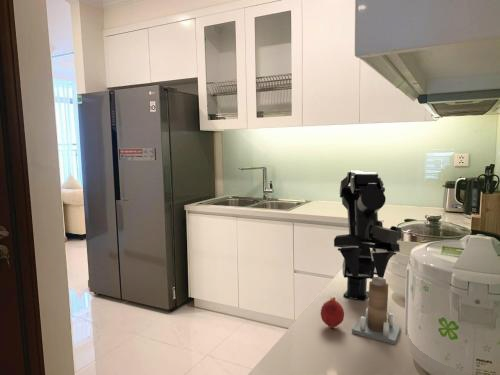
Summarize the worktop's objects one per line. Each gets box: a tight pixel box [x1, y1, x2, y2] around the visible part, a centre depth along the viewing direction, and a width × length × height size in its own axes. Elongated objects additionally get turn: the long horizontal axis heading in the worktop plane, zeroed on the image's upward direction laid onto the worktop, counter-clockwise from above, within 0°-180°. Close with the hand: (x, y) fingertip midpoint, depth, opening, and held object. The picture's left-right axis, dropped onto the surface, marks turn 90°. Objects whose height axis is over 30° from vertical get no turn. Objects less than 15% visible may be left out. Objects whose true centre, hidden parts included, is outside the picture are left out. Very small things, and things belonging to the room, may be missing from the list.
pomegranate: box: [320, 296, 345, 329], centre depth 90 cm, size 6×6×8 cm
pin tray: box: [351, 307, 402, 345], centre depth 88 cm, size 8×10×4 cm
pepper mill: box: [367, 276, 389, 332], centre depth 88 cm, size 4×4×12 cm
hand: (368, 278), depth 91 cm, fingers open, 9 cm apart
